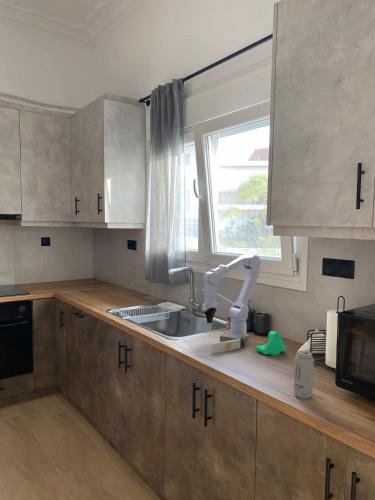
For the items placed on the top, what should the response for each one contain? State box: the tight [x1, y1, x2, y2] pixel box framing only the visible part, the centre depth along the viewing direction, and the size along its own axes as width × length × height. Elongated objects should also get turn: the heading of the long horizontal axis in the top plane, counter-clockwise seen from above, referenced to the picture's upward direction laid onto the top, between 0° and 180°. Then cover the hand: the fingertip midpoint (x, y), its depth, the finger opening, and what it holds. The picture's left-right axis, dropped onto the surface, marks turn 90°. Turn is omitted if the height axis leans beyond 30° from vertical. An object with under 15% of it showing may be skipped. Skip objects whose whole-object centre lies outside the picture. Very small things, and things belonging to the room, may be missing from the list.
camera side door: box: [211, 339, 241, 354], centre depth 178 cm, size 1×16×4 cm, turn 122°
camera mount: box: [255, 330, 287, 356], centre depth 178 cm, size 12×8×10 cm, turn 120°
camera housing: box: [219, 332, 246, 348], centre depth 188 cm, size 7×11×4 cm, turn 63°
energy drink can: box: [293, 350, 315, 400], centre depth 131 cm, size 6×6×15 cm
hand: (209, 322), depth 193 cm, fingers closed
